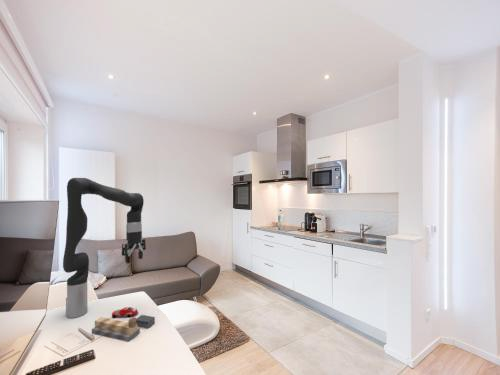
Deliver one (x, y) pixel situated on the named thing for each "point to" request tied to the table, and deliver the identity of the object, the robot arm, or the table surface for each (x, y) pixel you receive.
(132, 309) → the race car
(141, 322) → the grey rectangular box
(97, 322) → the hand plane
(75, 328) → the table surface
